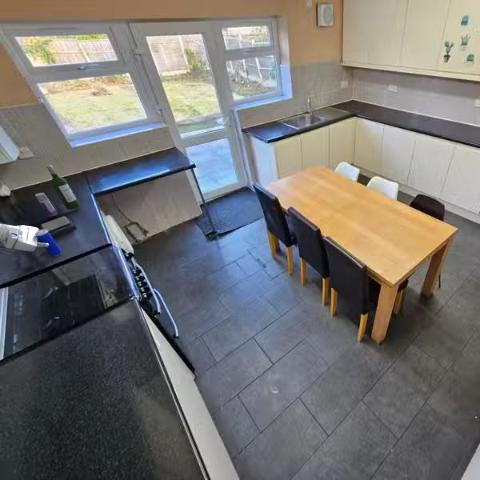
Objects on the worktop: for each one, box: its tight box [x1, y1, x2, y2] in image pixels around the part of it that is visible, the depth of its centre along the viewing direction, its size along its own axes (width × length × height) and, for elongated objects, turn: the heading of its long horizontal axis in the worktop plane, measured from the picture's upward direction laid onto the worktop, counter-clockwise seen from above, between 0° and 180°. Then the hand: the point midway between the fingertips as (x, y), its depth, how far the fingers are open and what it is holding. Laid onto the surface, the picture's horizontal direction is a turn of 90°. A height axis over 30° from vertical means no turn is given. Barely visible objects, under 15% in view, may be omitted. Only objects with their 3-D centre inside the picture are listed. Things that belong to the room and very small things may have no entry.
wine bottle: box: [45, 164, 81, 210], centre depth 181 cm, size 8×8×30 cm
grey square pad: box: [40, 215, 71, 232], centre depth 168 cm, size 12×12×1 cm
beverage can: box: [35, 228, 63, 257], centre depth 146 cm, size 5×5×15 cm
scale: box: [40, 216, 78, 238], centre depth 169 cm, size 14×16×3 cm
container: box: [34, 192, 58, 217], centre depth 178 cm, size 5×5×15 cm
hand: (48, 241), depth 146 cm, fingers open, 6 cm apart
